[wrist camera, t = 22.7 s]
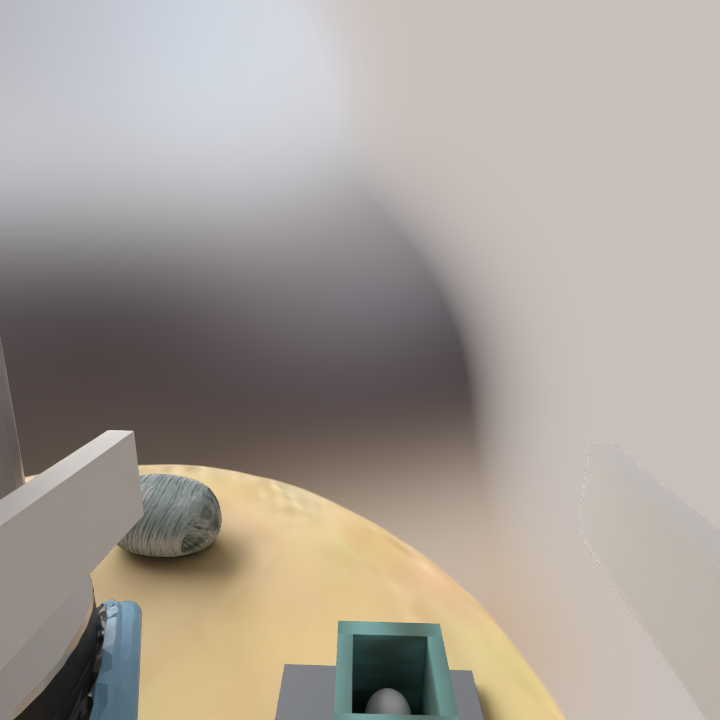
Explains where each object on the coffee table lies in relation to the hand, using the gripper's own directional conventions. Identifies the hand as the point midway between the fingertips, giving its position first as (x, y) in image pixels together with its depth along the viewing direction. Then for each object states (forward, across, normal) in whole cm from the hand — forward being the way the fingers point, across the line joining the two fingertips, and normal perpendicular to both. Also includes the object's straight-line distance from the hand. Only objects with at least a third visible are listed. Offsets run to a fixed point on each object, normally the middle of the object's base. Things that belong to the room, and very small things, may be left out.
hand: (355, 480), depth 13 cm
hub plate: (+11, +1, -30) cm, 32 cm away
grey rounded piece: (+34, -25, -28) cm, 51 cm away
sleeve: (+11, +1, -29) cm, 31 cm away
